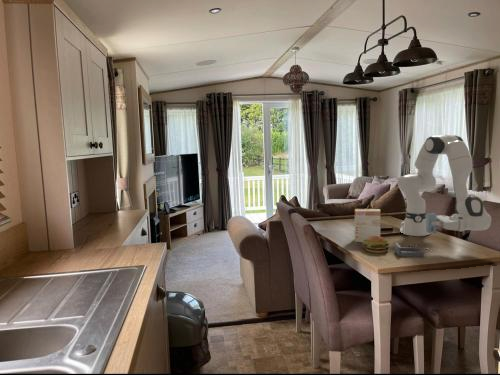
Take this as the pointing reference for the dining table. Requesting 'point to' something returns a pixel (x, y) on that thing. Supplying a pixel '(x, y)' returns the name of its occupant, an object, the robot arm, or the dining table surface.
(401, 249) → the rail channel
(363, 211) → the coffeecake box
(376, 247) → the food
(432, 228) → the pale blue rectangular prism
